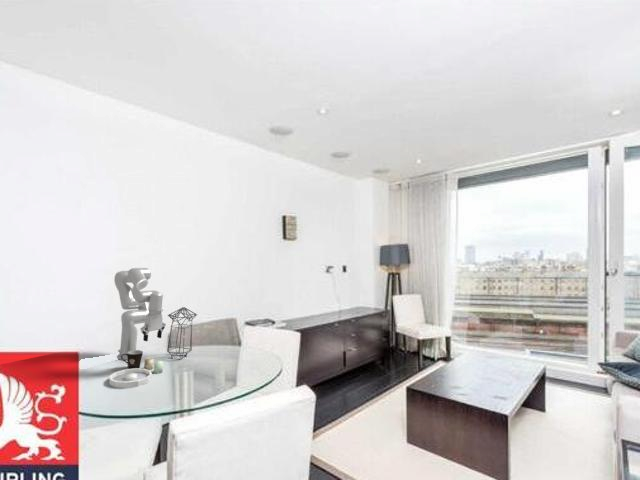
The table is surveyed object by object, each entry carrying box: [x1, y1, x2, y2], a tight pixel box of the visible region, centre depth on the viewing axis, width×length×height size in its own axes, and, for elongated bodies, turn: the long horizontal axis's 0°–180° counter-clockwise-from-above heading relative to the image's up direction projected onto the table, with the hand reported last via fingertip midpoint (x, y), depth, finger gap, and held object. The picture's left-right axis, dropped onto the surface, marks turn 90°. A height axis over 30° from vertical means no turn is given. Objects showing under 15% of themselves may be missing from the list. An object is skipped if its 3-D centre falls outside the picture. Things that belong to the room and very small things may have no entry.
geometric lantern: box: [166, 306, 198, 360], centre depth 240 cm, size 16×16×35 cm
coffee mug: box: [121, 349, 144, 369], centre depth 214 cm, size 12×9×10 cm
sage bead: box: [153, 360, 164, 375], centre depth 210 cm, size 5×5×6 cm
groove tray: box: [108, 367, 153, 389], centre depth 195 cm, size 21×21×3 cm
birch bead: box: [143, 357, 155, 371], centre depth 214 cm, size 5×5×6 cm
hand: (152, 339), depth 214 cm, fingers open, 9 cm apart
